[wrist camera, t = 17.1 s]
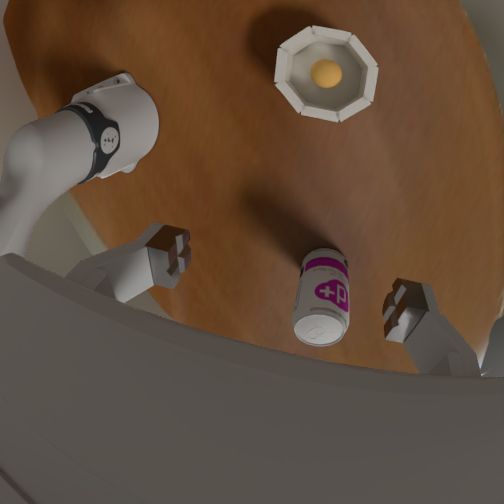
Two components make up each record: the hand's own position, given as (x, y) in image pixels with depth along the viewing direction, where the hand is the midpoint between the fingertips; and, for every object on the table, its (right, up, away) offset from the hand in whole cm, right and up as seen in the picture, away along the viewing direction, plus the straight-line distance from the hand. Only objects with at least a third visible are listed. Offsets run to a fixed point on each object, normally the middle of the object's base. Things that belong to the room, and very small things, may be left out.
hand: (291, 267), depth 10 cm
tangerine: (+8, +22, +17) cm, 29 cm away
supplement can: (+12, -2, +38) cm, 39 cm away
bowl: (+8, +24, +19) cm, 32 cm away
